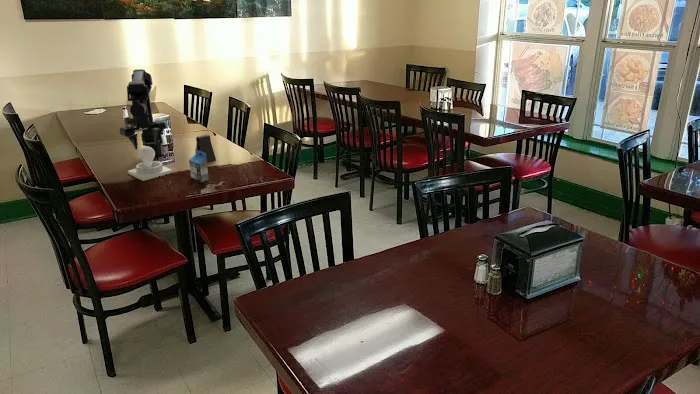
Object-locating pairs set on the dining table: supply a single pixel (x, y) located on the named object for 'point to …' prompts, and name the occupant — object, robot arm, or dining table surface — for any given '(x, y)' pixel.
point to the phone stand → (205, 147)
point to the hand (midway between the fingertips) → (146, 147)
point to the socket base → (149, 176)
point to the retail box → (199, 166)
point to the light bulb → (147, 156)
